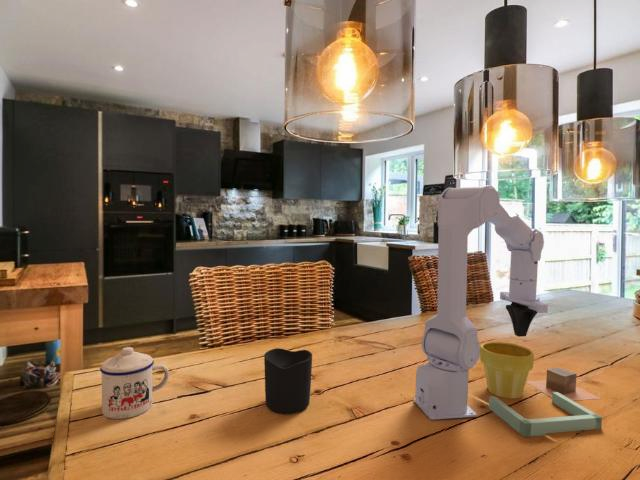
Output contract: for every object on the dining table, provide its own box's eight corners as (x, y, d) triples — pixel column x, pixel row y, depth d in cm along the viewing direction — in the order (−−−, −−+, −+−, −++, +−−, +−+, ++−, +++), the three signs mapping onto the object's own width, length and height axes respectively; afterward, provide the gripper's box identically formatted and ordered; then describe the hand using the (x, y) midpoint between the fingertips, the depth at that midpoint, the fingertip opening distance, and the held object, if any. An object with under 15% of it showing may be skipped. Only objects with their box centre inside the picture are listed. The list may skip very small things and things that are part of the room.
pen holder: (291, 389, 83) (292, 344, 83) (321, 405, 76) (322, 356, 76) (254, 403, 77) (255, 353, 76) (283, 421, 70) (283, 367, 70)
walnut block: (563, 394, 82) (564, 376, 82) (545, 387, 86) (546, 369, 86) (575, 391, 84) (576, 373, 84) (557, 384, 88) (558, 367, 88)
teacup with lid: (103, 425, 67) (102, 360, 67) (98, 404, 75) (97, 345, 74) (174, 408, 74) (174, 348, 74) (163, 390, 82) (163, 336, 81)
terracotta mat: (558, 403, 79) (558, 401, 79) (524, 382, 89) (524, 381, 89) (600, 400, 81) (600, 398, 81) (562, 380, 91) (562, 378, 91)
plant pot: (486, 378, 91) (488, 338, 91) (536, 391, 85) (538, 348, 84) (472, 393, 83) (474, 348, 83) (525, 409, 77) (528, 361, 76)
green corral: (524, 437, 67) (525, 423, 66) (488, 408, 77) (489, 396, 76) (601, 430, 69) (601, 417, 69) (556, 403, 79) (557, 392, 79)
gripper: (561, 284, 85) (558, 345, 86) (518, 274, 99) (516, 326, 100) (532, 284, 84) (529, 345, 85) (493, 274, 98) (491, 327, 99)
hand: (520, 335), depth 92 cm, fingers closed
